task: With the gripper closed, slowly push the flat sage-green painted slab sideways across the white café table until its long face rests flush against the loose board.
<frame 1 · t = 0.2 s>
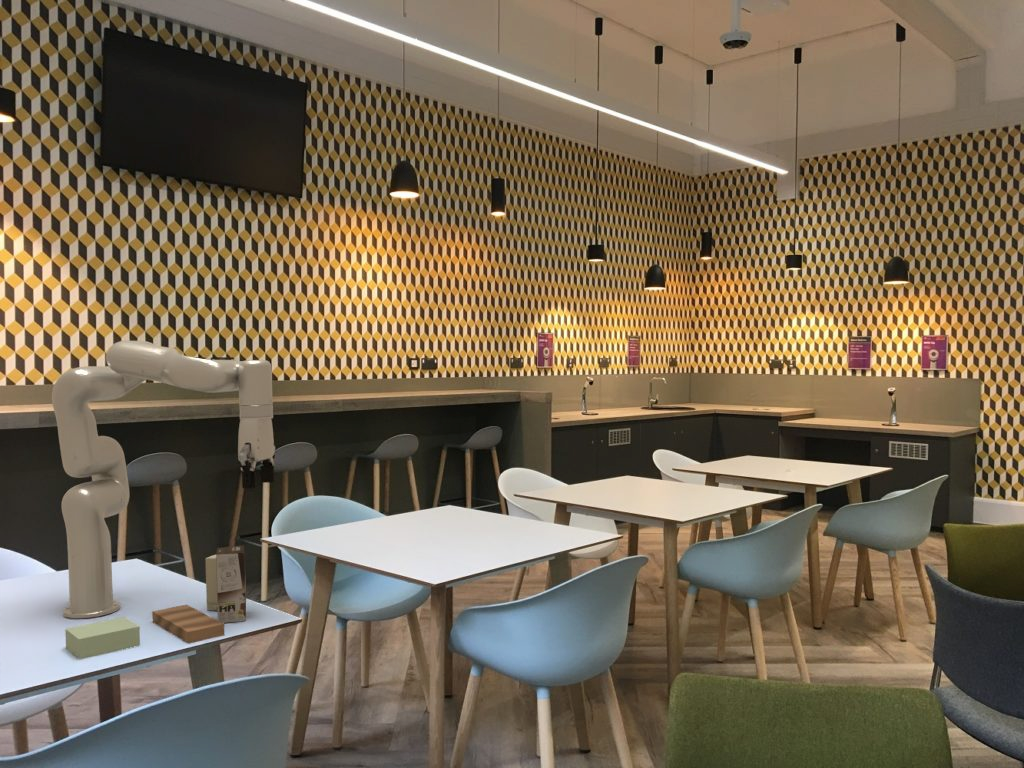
hand: (258, 485, 205), 31 cm above the table, tool pointing down, fingers open, 9 cm apart
slab: (103, 648, 186), on the table
coffee box: (232, 618, 205), on the table
board: (187, 630, 197), on the table
box: (220, 608, 213), on the table
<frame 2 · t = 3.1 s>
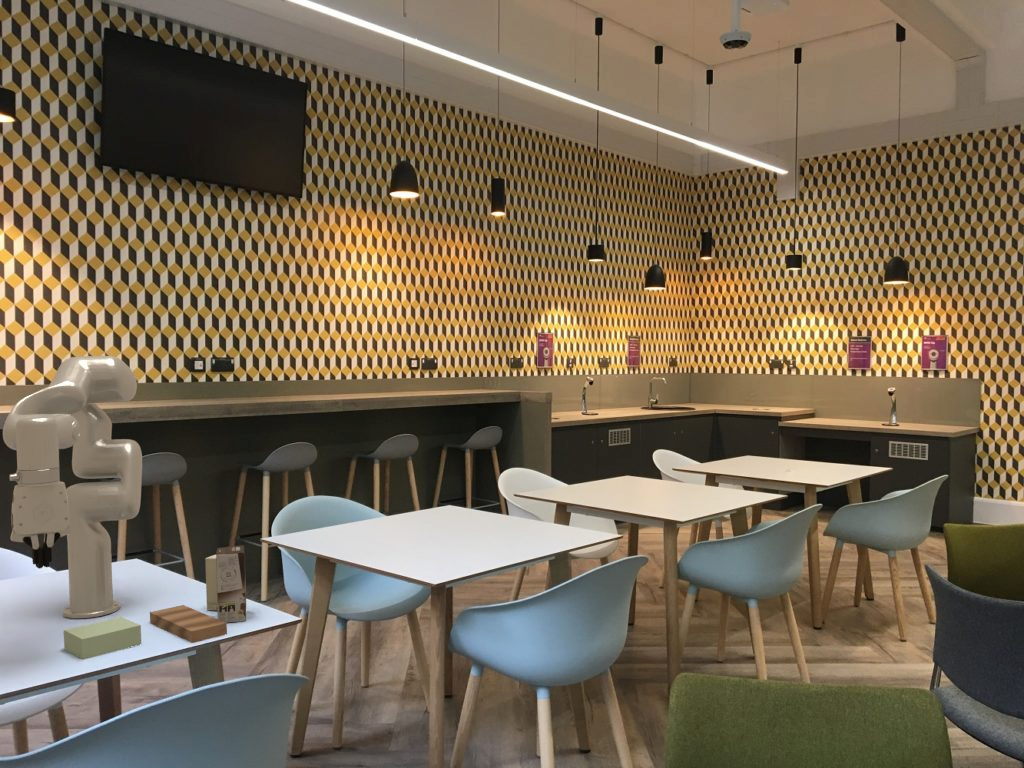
hand: (42, 566, 178), 19 cm above the table, tool pointing down, fingers closed
nothing on the table moved.
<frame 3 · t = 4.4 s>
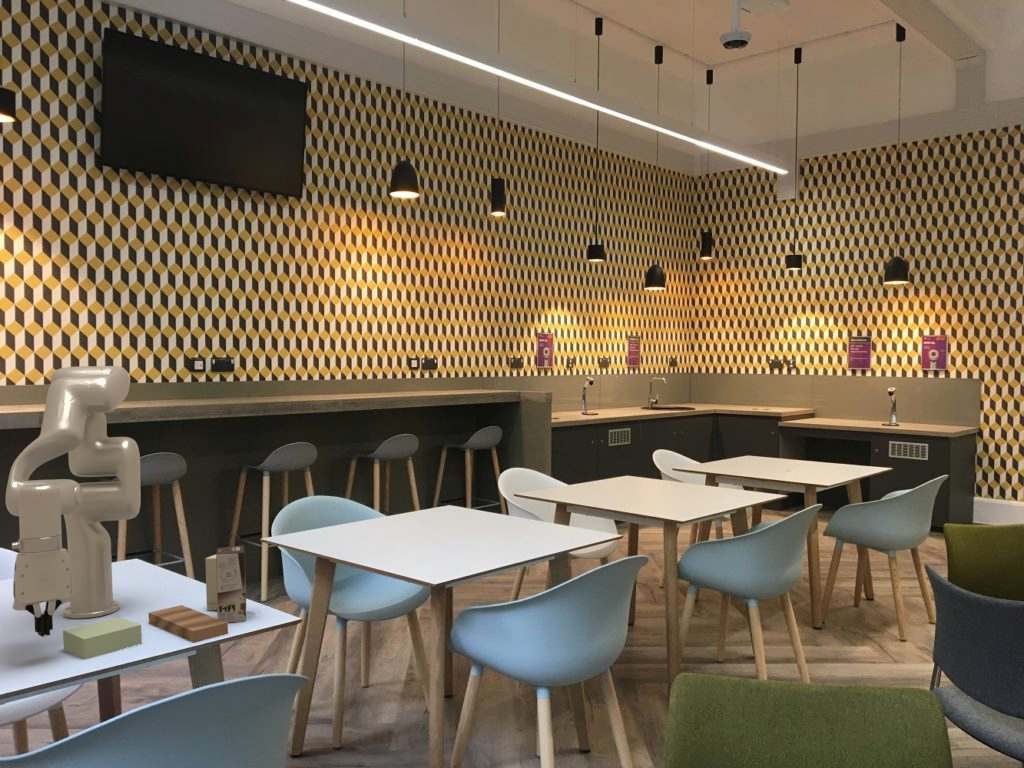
hand: (43, 634, 178), 5 cm above the table, tool pointing down, fingers closed
nothing on the table moved.
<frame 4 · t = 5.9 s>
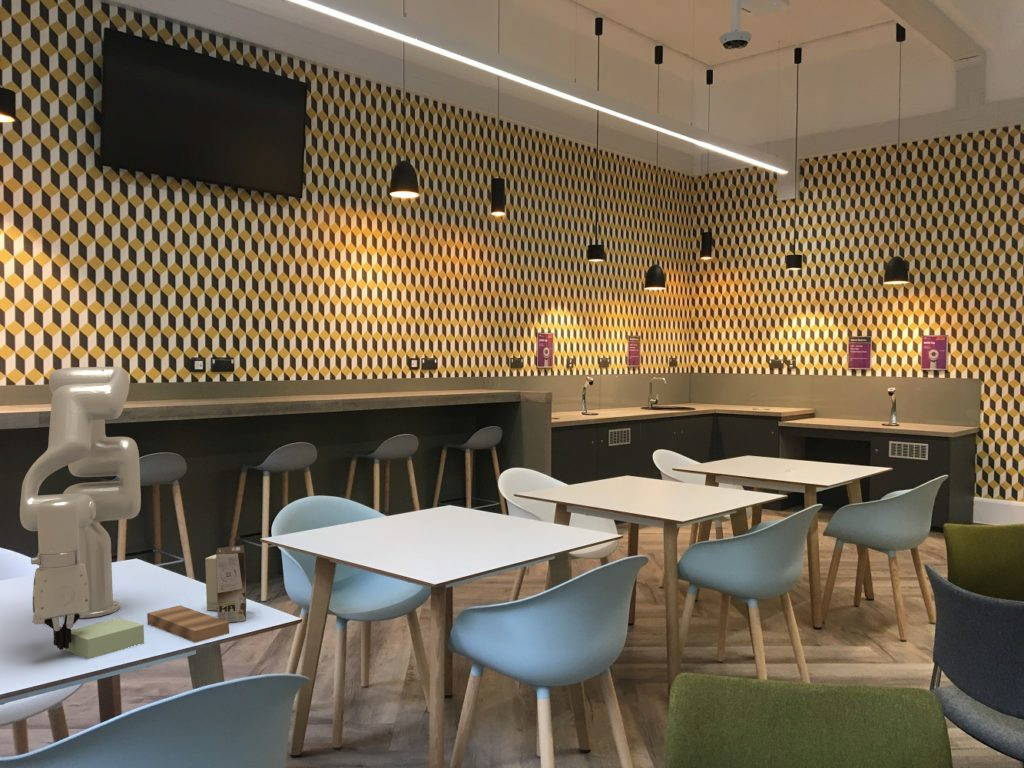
hand: (62, 647, 180), 2 cm above the table, tool pointing down, fingers closed
nothing on the table moved.
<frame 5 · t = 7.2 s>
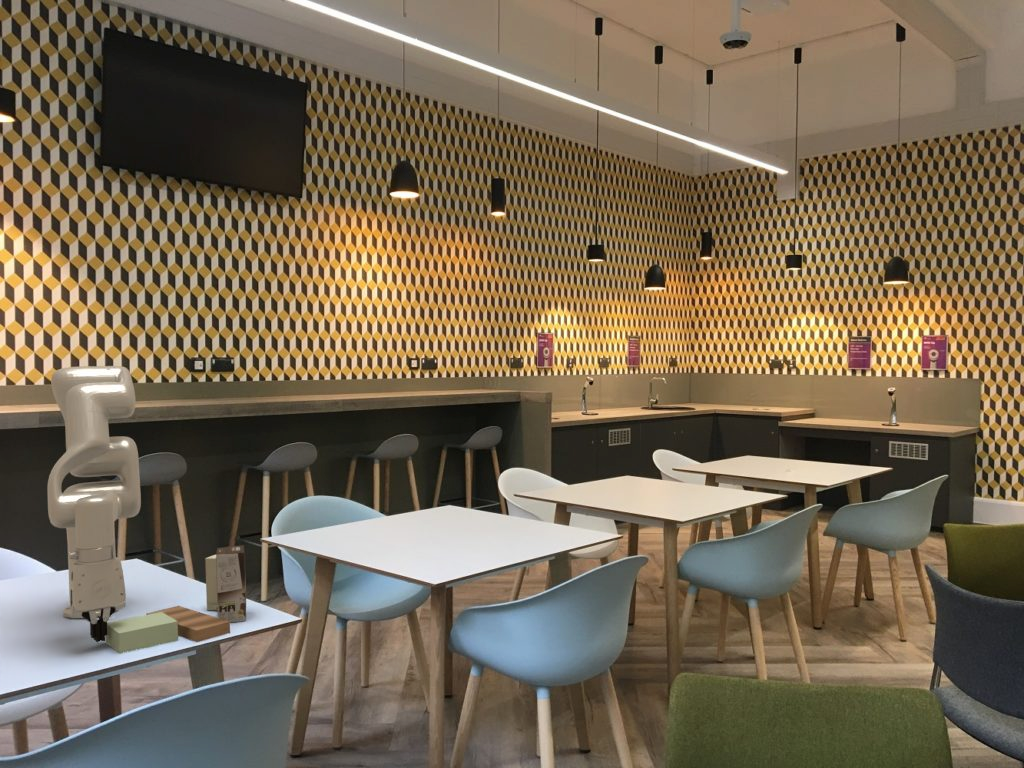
hand: (99, 639, 185), 2 cm above the table, tool pointing down, fingers closed
slab: (142, 642, 189), on the table, touching gripper
everything else where it was.
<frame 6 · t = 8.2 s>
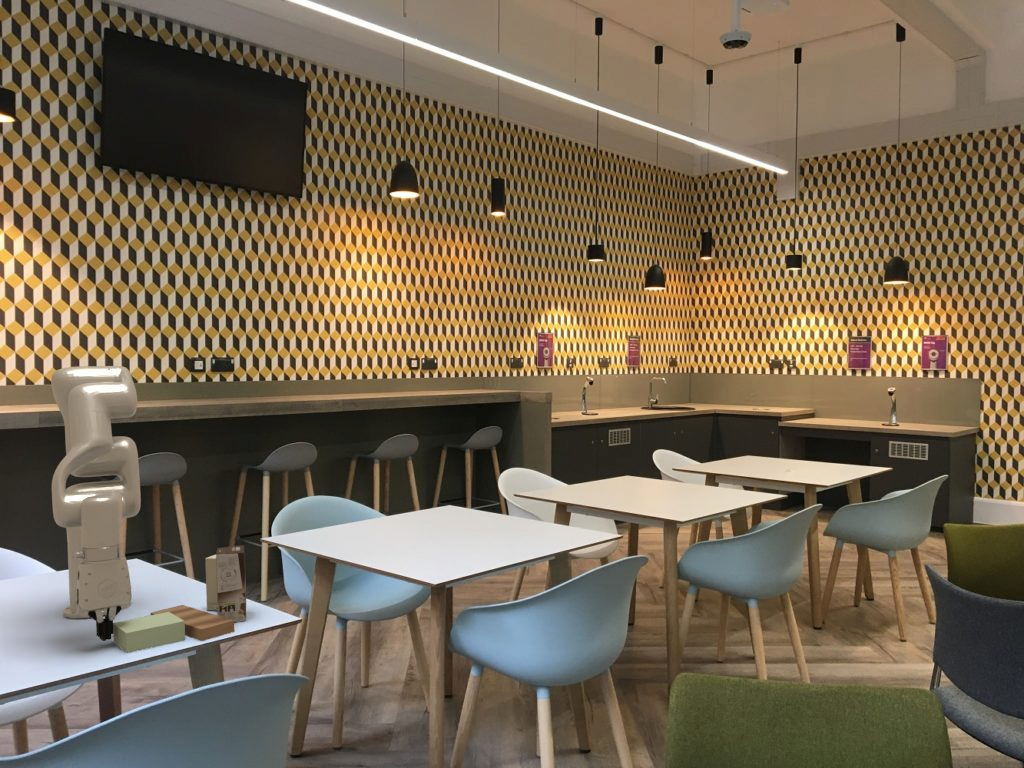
hand: (105, 638, 186), 2 cm above the table, tool pointing down, fingers closed
slab: (149, 642, 189), on the table
board: (191, 629, 198), on the table
everything else where it was.
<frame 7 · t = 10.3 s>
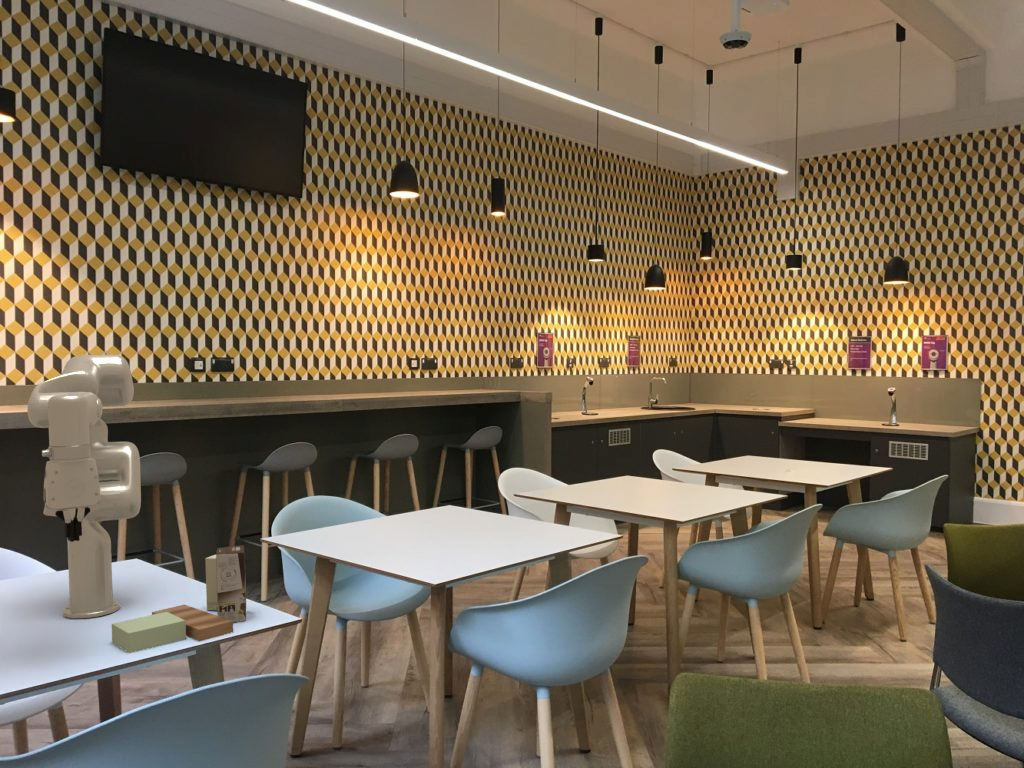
hand: (73, 540, 183), 23 cm above the table, tool pointing down, fingers closed
nothing on the table moved.
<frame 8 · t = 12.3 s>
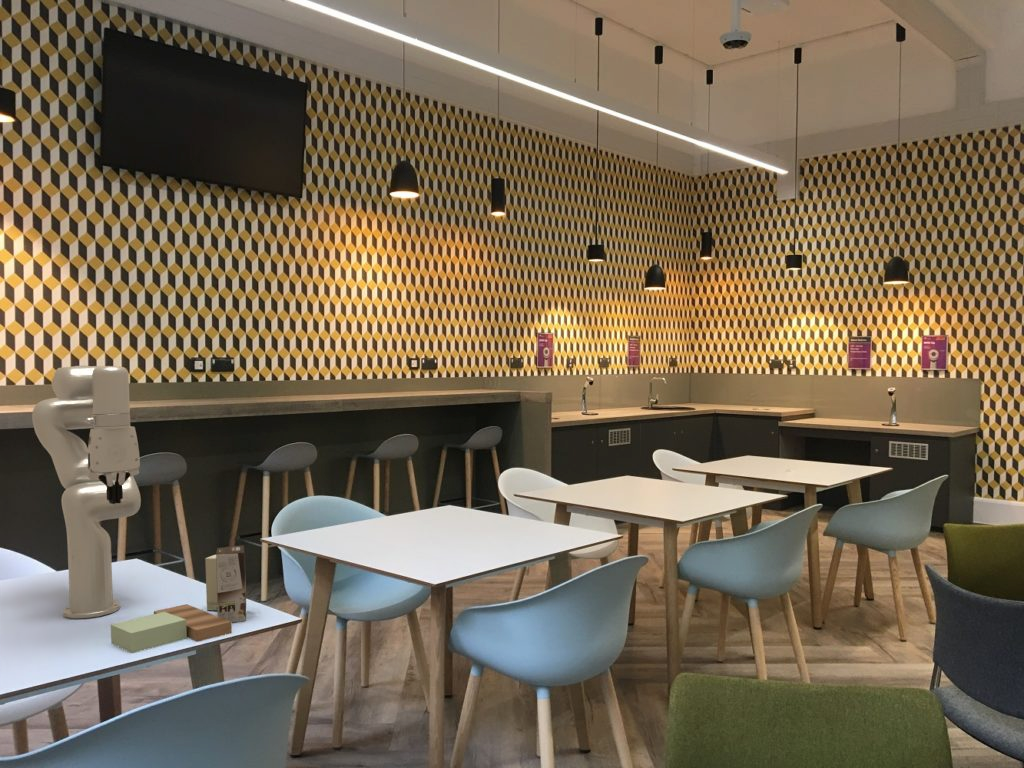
hand: (114, 502, 196), 29 cm above the table, tool pointing down, fingers closed
nothing on the table moved.
at the end: slab inside the target area on the table beside the board (3.2 cm from its centre), on the table; slab tilted 0° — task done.
